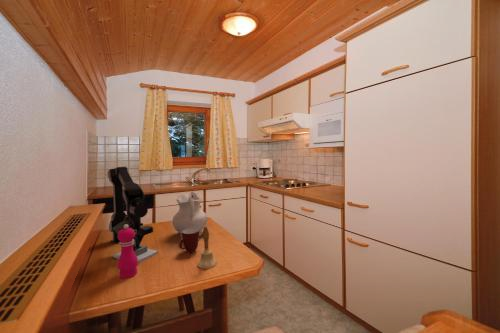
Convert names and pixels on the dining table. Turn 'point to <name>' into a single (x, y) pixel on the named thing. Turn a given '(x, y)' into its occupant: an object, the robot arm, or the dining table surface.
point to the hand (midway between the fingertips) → (135, 246)
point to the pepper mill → (127, 253)
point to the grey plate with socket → (140, 253)
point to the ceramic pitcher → (189, 213)
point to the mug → (189, 239)
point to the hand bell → (206, 253)
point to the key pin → (135, 245)
